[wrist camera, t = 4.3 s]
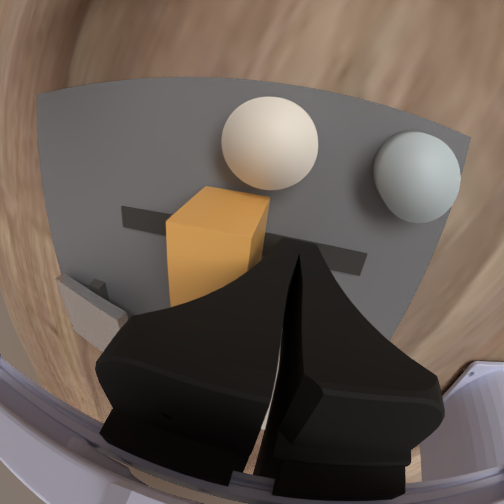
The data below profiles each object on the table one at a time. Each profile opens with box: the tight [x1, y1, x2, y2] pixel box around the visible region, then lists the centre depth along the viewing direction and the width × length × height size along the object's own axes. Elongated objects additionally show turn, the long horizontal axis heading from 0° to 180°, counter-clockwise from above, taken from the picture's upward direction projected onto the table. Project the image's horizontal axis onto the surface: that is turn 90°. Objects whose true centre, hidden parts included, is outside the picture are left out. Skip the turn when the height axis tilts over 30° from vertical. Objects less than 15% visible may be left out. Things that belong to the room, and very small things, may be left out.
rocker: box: [56, 273, 128, 352], centre depth 15 cm, size 4×6×1 cm
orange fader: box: [166, 186, 270, 307], centre depth 10 cm, size 4×2×3 cm, turn 174°
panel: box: [37, 77, 471, 350], centre depth 13 cm, size 15×19×2 cm
